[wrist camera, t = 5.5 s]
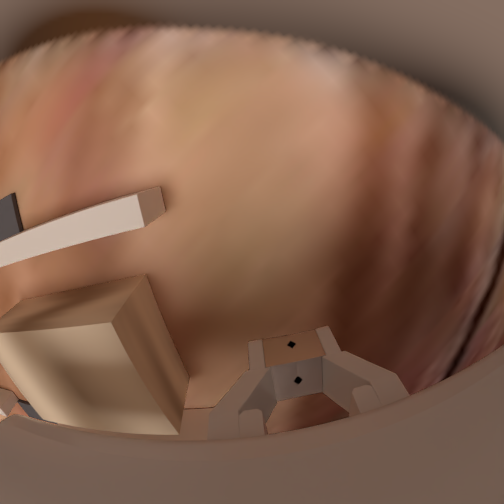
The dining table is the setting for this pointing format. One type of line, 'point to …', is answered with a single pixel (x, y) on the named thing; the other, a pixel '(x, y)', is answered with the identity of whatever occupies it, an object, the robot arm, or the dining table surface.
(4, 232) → the pads
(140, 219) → the box
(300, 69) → the dining table surface
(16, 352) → the maple block
